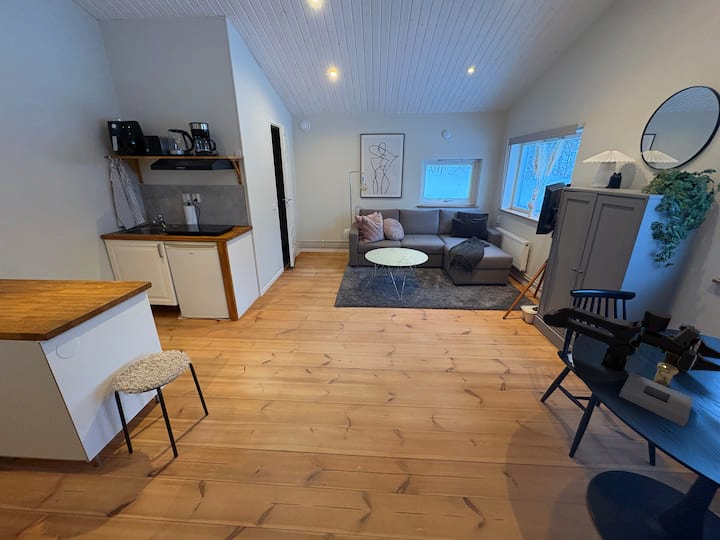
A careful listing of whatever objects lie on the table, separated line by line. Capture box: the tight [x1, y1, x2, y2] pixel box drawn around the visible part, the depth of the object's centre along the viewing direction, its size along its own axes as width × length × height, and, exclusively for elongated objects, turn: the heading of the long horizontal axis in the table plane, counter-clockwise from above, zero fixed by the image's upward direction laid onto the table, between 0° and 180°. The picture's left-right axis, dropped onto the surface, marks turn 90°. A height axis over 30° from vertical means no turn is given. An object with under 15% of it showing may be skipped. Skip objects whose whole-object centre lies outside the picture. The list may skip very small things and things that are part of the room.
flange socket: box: [618, 372, 694, 428], centre depth 100 cm, size 16×14×3 cm
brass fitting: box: [652, 362, 679, 387], centre depth 107 cm, size 5×5×7 cm
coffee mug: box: [662, 352, 687, 375], centre depth 114 cm, size 12×9×10 cm
